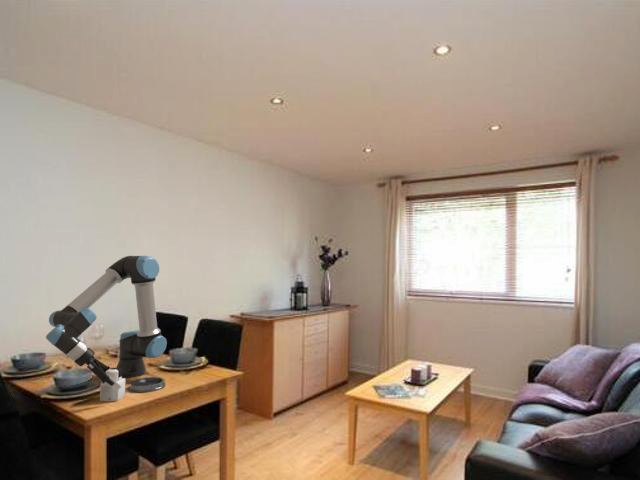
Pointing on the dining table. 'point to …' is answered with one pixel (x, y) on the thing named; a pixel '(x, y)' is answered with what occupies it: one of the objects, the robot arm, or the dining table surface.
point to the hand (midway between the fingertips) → (118, 384)
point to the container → (107, 391)
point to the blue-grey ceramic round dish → (147, 384)
